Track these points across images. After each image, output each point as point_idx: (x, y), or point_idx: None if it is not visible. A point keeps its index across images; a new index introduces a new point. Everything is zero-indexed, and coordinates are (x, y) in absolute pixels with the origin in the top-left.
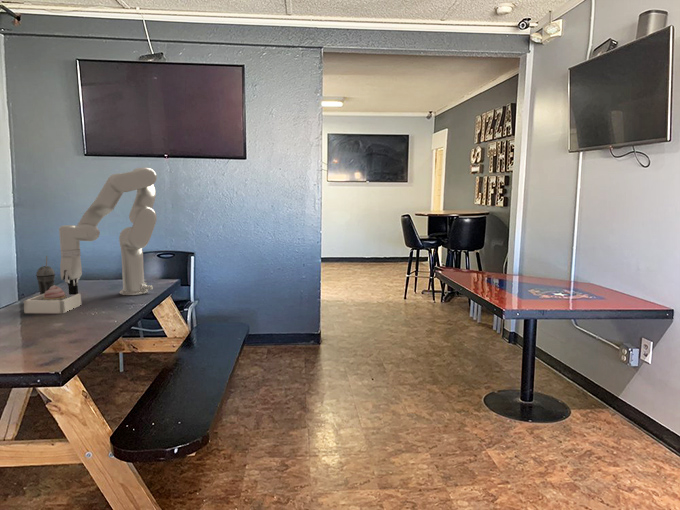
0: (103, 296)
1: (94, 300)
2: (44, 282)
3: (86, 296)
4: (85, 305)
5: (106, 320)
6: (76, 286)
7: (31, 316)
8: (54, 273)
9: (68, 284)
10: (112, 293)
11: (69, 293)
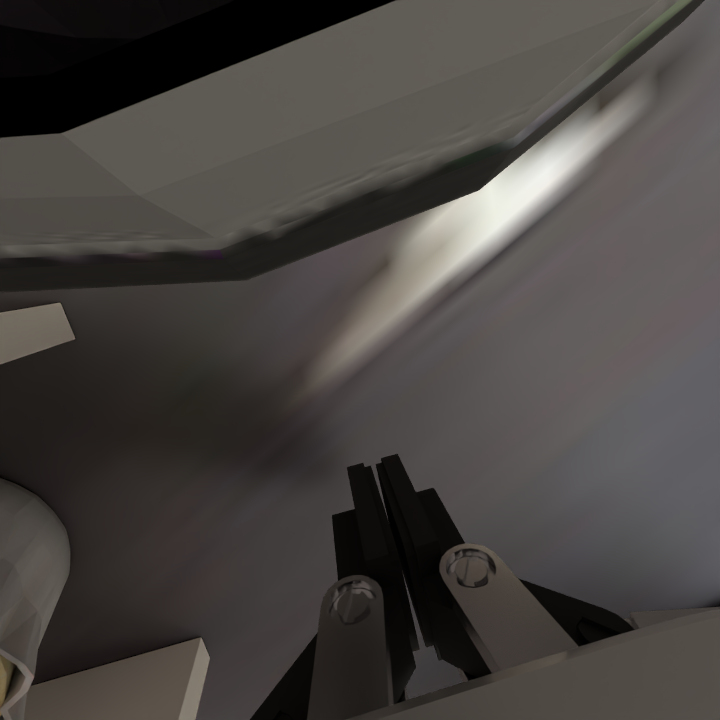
0: (582, 574)
1: (416, 619)
2: None
3: (568, 432)
4: (213, 692)
5: None
6: (424, 635)
7: None
8: (551, 82)
9: (304, 655)
10: (706, 557)
11: (350, 476)
